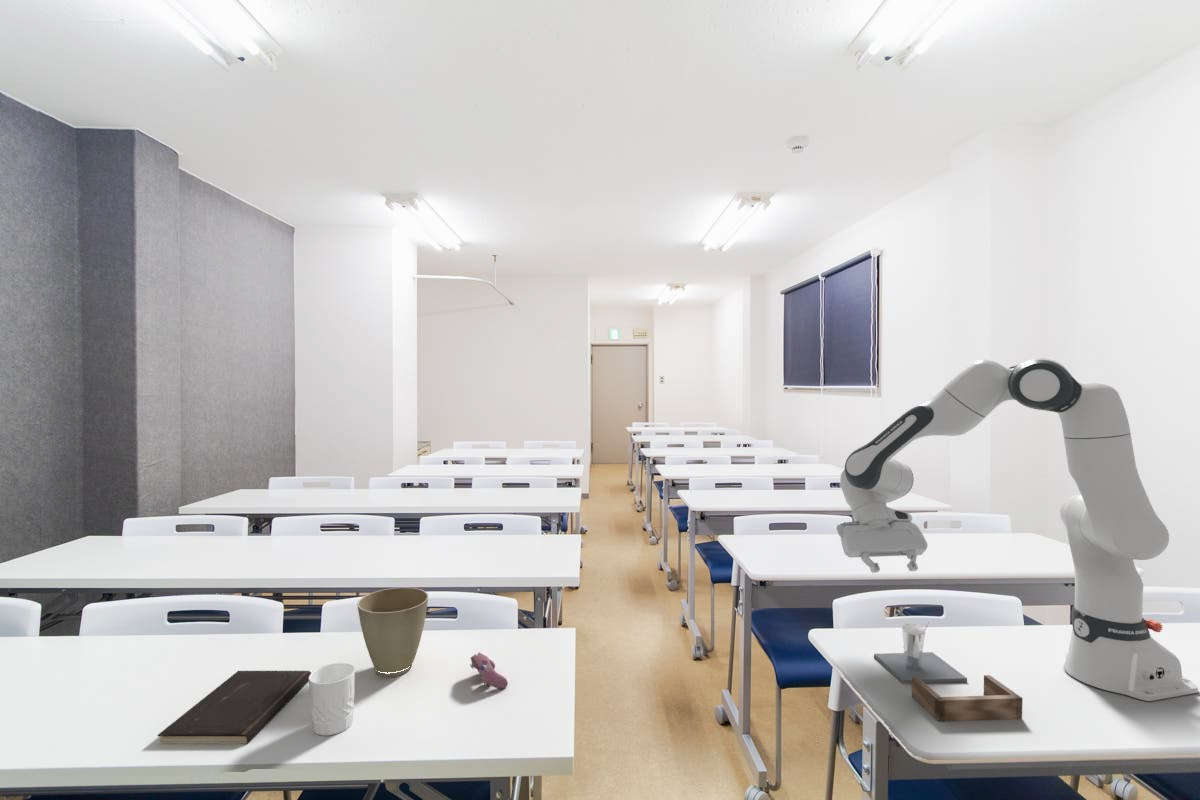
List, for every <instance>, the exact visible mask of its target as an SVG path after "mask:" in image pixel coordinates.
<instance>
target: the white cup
mask: <svg viewBox="0 0 1200 800" xmlns="http://www.w3.org/2000/svg"><path fill="white" fill-rule="evenodd" d="M355 685H356V667H355V666H354V665H353V664H351V663H348V662H336V663H331V664H326V665H324V666H321V667H319V668H317V669H315V670H314V671H312V672H311V674H310V676H309V682H308V687H309V701H310V711H311V719H312V729H313V732H314V734H316V735H319V736H324V737H325V736H333V735H337V734H340V733H342V732H344V731H346V730H347V729H349V727H350V726H351V725H352V723H353V721H354V709H355V708H354V706H355V687H356V686H355Z"/></svg>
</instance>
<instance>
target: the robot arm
mask: <svg viewBox="0 0 1200 800" xmlns="http://www.w3.org/2000/svg"><path fill="white" fill-rule="evenodd" d="M1014 400H1015V401H1016V402H1018V403H1019V404H1020V405H1022V406H1025V407H1026V408H1029V409H1033V410H1037V411H1038V410H1039V411H1046V412H1052V413H1057V415H1058V416H1059V418H1060V419H1059V420H1060V423H1061V427H1062V433H1063V440H1064V446H1065V455H1066V460H1067V467H1068V472H1069V474H1070V476H1071V477H1072V479H1073V480H1074V481H1075V484H1076V486H1077V488H1078V491H1079V493H1077V494H1074V495H1071V496H1069V497H1068V498H1066V499H1065V500H1064V501H1063V503H1062V504H1061V506H1060V511H1059V512H1060V514H1059V515H1060V519H1061V522H1062V523H1063V525H1064V527H1065V530H1066V533H1067V537H1068V538H1067V539H1068V543H1069V547H1070V548H1069V549H1070V553H1071V557H1072V562H1073V568H1074V570H1073V571H1074V604H1073V605H1072V606H1071V624H1072V629H1071V630H1072V631H1071V636H1070V641H1069V646H1068V652H1066V655H1065V662H1064V664H1063V670H1064V671H1065V672H1066V673H1068V674H1069V676H1071V677H1072V678H1074V679H1077V680H1078V681H1080V682H1083V683H1084V684H1085V685H1086V684H1087V685H1089V686H1093V687H1095V688H1099V689H1100V690H1105V691H1109V692H1112V693H1116V694H1120V695H1124V696H1129V697H1132V698H1134V699H1137V700H1141V701H1145V702H1152V701H1158V700H1164V699H1170V698H1175V697H1181V696H1186V695H1190V694H1191V695H1192V694H1196V693H1199V688H1198V686H1197V685H1196V684H1195V683H1194V682H1193V681H1191V680H1190V679H1188V678H1187V677H1185V676H1183V670H1182V664H1181V661H1180V660H1179V658H1178V657H1177V655H1176V654H1175V653H1173V652H1171V651H1170V650H1169V649H1168V648H1166V647H1165V646H1163V644H1161V643H1160V642H1158V641H1157V640H1155V639H1154V637H1152V636H1151V633H1150V630H1152V631H1153V632H1155V633H1160V632H1162V631H1163V628H1164V627H1163V624H1162V623H1161V622H1158V621H1155V620H1153V619H1148V620H1147V619H1145V618H1144V617H1143V606H1144V603H1143V602H1144V584H1143V580H1142V578H1141V576H1140V573H1138V570H1137V568H1136V565H1135V561H1134V560H1137V561H1145V560H1146V561H1147V560H1152V559H1155V558H1157V557H1158V556H1160V555H1162V554H1163V552H1165V550H1166V549H1167V548H1168V545H1169V543H1170V534H1169V530H1168V528H1167V526H1166V525H1165V523H1164V522H1163V521H1162V520H1161V519H1160V518H1159V516H1158V514H1157V513H1156V512H1155V510H1154V508H1153V505H1152V503H1151V501H1150V499H1149V496H1148V494H1147V492H1146V490H1145V487H1144V485H1143V482H1142V480H1141V478H1140V475H1139V472H1138V468H1137V464H1136V457H1135V453H1134V452H1135V451H1134V446H1133V440H1132V433H1131V428H1130V423H1129V419H1128V418H1129V417H1128V415H1127V412H1126V408H1125V406H1124V404H1123V403H1124V402H1123V400H1122V399H1121V396H1120V394H1119V392H1118V390H1117V389H1115V388H1114V387H1113V386H1111V385H1108V384H1104V383H1097V382H1095V383H1094V382H1092V383H1091V382H1090V383H1082V382H1081V383H1080V382H1078V381H1077V380H1076V379H1075V378H1074V377H1073V375H1071V373H1070V372H1069V370H1068V369H1067V368H1066V366H1064V365H1063V364H1061V363H1060V362H1058V361H1056V360H1054V359H1050V358H1047V357H1046V358H1043V357H1038V358H1032V359H1029V360H1026V361H1024V362H1022V363H1019V364H1017V365H1014V366H1010V367H1006V366H1004V365H1001V364H1000V363H998V362H997V361H994V360H990V359H979V360H976V361H974V362H973V363H971V364H969V366H967V367H965V368H964V369H963V370H962V371H960V372H959V373H958V374H957V375H956V376H954V377H953V378H952V379H951V380H950V381H949V382H948V383H947V384H946V385H944V387H943V388H941V390H940V391H939V392H938V393H936V394H935V395H934V396H932V397H931V398H930V399H928V400H926V402H923V403H921V404H920V405H916V406H914V407H912V408H910V409H908V411H906V412H904V413H903V414H902V415H901V416H900V417H898V418H897V419H896V420H895V421H893V422H892V423H891V424H890V425H889V426H888V427H886V428H885V429H884V430H882V431H881V432H880V433H879V434H877V436H875V437H874V438H873V439H872V440H871V441H869V442H868V443H866V444H864V445H863V446H860V447H859V448H857V449H855V450H853V452H851V453H850V454H849V455H848V457H847V458H846V460H845V464H844V469H843V470H842V472H841V474H840V481H839V482H840V486H841V490H842V494H843V496H844V499H845V502H846V504H847V505H848V506H849V508H850V510H851V516H852V519H853V521H848V522H847V521H842V522H840V523H839V524H837V526H836V532H837V533H838V536H839V537H840V542H841V547H842V551H843V553H844V555H845V556H846V557H848V558H850V559H852V558H861V561H862V562H863V563H864V564H865V565H866V566H868V567H869V569H870V572H871V573H872V574H873V573H875V574H876V573H879V572H880V570H881V568H880V566H879V562H874V561H873V560H872V559H871V558H874V557H880V558H881V557H901V556H902V557H903V556H905V557H906V558H907V559H908V560H909V562H908V563H907V564H906V567H907V568H908V571H909V572H917V571H918V569H919V566H918V564H917V562H916V561H917V558H918V557H917V556H922V555H923V554H924V553H925V552H926V550H927V548H928V543H927V540H926V538H925V536H924V535H923V533H922V531H921V530H920V527H919V526H918V525H917V524H916V523H914V522H912V520H913V517H912V515H911V514H910V513H909V512H907V511H902V510H897V509H894V508H892V507H891V508H890V507H888V506H887V503H891V502H894V501H896V500H899V499H900V498H902V497H904V496H906V495H907V494H908V493H910V491H911V490H912V488H913V486H914V481H915V480H914V473H913V471H912V469H911V468H910V467H909V465H907V464H905V463H903V462H900V461H899V460H896V459H894V457H895V456H896V455H897V454H899V453H900V452H901V451H902V450H903V449H904V448H906V447H908V445H910V444H911V443H912V442H913V441H915V440H918V439H920V438H924V437H931V436H946V437H947V436H948V437H954V436H961V435H964V434H966V433H968V432H970V431H972V430H974V428H976V427H977V426H978V425H979V424H980V423H981V422H983V420H984V419H986V417H988V415H989V414H990V413H992V411H994V410H995V409H996V407H998V406H999V405H1001V404H1002V403H1005V402H1007V401H1014Z"/></svg>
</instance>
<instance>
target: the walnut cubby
mask: <svg viewBox="0 0 1200 800" xmlns="http://www.w3.org/2000/svg"><path fill="white" fill-rule="evenodd" d="M911 697H912V699H914V701H916V702H917V703H918V704H919V705H920V706H921V707H922V708H923V709H924V710H925V711H927V712H928V714H930V716H932V717H933V718H934V719H935V720H936V721H937V722H959V721H960V722H962V721H964V722H965V721H968V722H969V721H993V720H998V721H999V720H1022V719H1023V697H1022V696H1020V695H1019V694H1017V693H1016V692H1014V691H1013V690H1011V689H1010V688H1009V687H1007V686H1006V685H1004V684H1003V683H1002V682H1000V681H999V680H997V679H996V678H995V677H993V676H991V675H990V674H987V675H986V674H985V675H983V695H969V696H968V695H965V696H964V695H963V696H961V695H959V696H940V695H939V694H938V693H937V692H936V691H935V690H934V689H932V688H931V687H930V686H928V684H927V683H924V682H923V681H922V680H920V679H919V678H918V677H912V684H911Z"/></svg>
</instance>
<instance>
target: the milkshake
mask: <svg viewBox="0 0 1200 800" xmlns="http://www.w3.org/2000/svg"><path fill="white" fill-rule="evenodd" d="M929 624H930V622H929V621H928V622H927V624H926V626H925V628H923V626H921V625H919V624H915V623H905V624H904V625H902V627H901V630H902V631H901V632H902V641H903V653H904V656H905V665H906V666H908V667H910V668H913V669H919V668H921V663H922V653H924V644H925V637H926V630H927V628H928V626H929Z"/></svg>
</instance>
